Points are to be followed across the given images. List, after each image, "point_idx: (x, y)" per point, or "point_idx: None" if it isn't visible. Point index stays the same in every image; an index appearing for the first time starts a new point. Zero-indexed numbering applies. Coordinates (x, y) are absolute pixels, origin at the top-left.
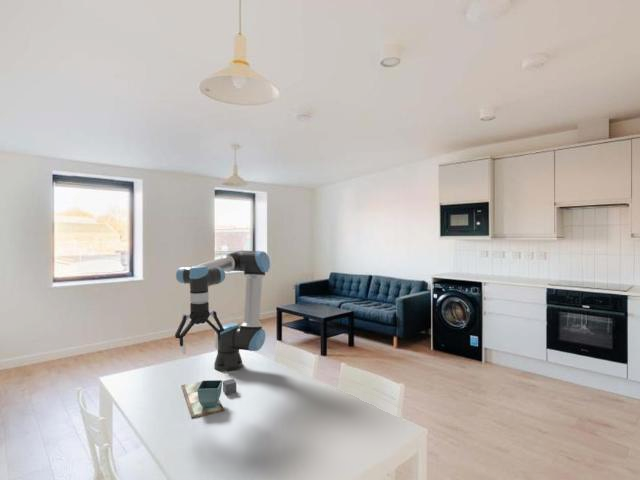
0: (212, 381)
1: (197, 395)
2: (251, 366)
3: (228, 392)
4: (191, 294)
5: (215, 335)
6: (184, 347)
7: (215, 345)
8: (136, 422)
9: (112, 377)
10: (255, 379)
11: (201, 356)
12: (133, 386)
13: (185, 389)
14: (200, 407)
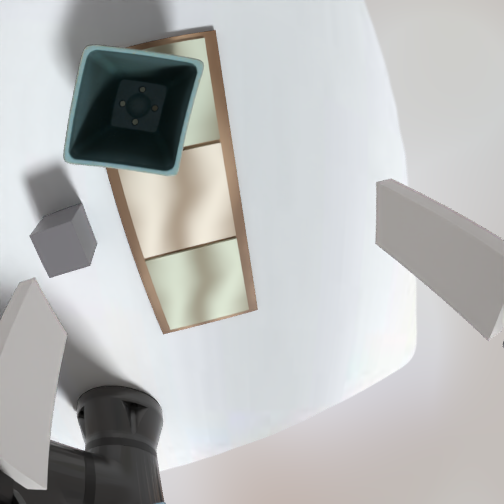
0: (118, 162)
1: (195, 209)
2: None
3: (69, 210)
4: None
5: (5, 431)
6: (433, 208)
7: (43, 324)
8: (384, 82)
9: (401, 360)
10: None
11: (208, 454)
12: (377, 319)
13: (243, 275)
14: None
